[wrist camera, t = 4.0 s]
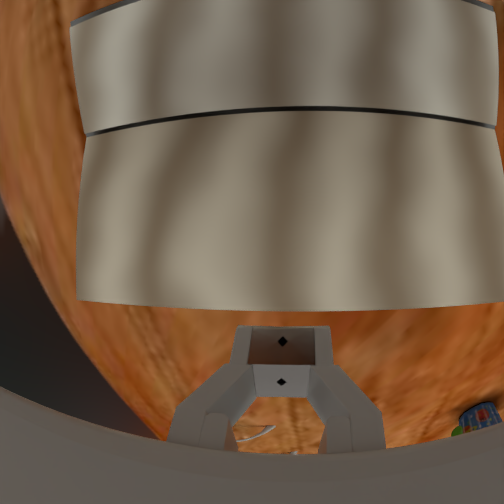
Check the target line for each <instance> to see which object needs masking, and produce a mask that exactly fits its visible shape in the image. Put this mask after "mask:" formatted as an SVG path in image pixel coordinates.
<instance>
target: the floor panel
mask: <svg viewBox="0 0 504 504" xmlns="http://www.w3.org/2000/svg"><path fill="white" fill-rule="evenodd" d="M70 40H71V50H72V59H73V67H74V75H75V82H76V89H77V95H78V101H79V107H80V113H81V118H82V123H83V128H84V133H85V134H86V136H87V137H91V136H95V135H99V134H104V133H108V132H113V131H118V130H123V129H128V128H133V127H138V126H144V125H150V124H156V123H162V122H169V121H176V120H183V119H191V118H199V117H208V116H218V115H228V114H241V113H256V112H278V111H347V112H368V113H383V114H395V115H406V116H415V117H423V118H431V119H439V120H445V121H452V122H458V123H464V124H469V125H475V126H480V127H485V128H490V129H494V130H495V125H496V123H497V109H498V86H499V63H498V40H497V27H496V18H495V12H493V6H491V5H488V4H485V3H483V2H480V1H477V0H123V1H120V2H118V3H115V4H112V5H109V6H107V7H104V8H102V9H99V10H97V11H94V12H92V13H89V14H87V15H85V16H83V17H80V18H78V19H76V20H74V21H72V22H71V27H70Z"/></svg>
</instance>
